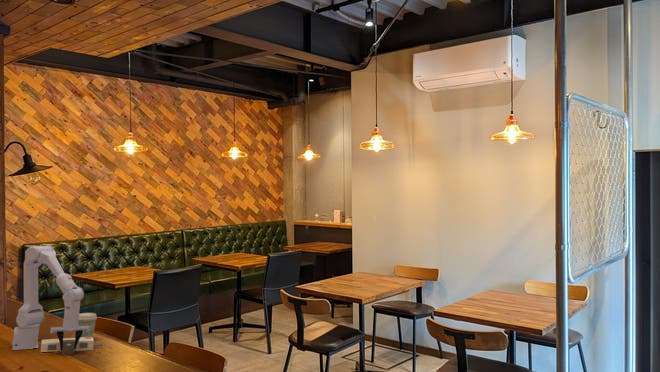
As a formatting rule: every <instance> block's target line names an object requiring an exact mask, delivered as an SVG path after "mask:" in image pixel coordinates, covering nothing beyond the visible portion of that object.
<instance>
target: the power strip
mask: <svg viewBox="0 0 660 372" xmlns="http://www.w3.org/2000/svg"><path fill="white" fill-rule="evenodd" d="M63 340H75V337H67V338H65V337H63ZM94 347H103V343H95V340H94V337H82V338H80V339H79V341H78V343H77V346H76V349H74V352H83V351H94ZM47 351H60V352H59V353H62V350H60V342H59V339H58V338H50V339H47V338H46V339H41V343H40V353H41V352H47Z"/></svg>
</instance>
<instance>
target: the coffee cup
mask: <svg viewBox="0 0 660 372" xmlns="http://www.w3.org/2000/svg"><path fill="white" fill-rule="evenodd" d="M97 319H98V316H97V313H95V312H83V313H79V320H78V326H89V331H83V334H82V336H81V337H80V338H82V337H93V336H94V331H95V326H96V321H97ZM93 338H94V337H93Z"/></svg>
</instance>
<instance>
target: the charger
mask: <svg viewBox="0 0 660 372" xmlns="http://www.w3.org/2000/svg"><path fill="white" fill-rule="evenodd" d="M74 346H75V340H63V349H62V352H61V354H62V353H63V354H64V355H74V354H75V351H74Z"/></svg>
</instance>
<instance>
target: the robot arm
mask: <svg viewBox="0 0 660 372" xmlns="http://www.w3.org/2000/svg"><path fill="white" fill-rule="evenodd" d="M56 255H57V252H56V251H55V249H54V247H53V246H52V245H38V246H37V245H32V246H29V247H28V248H27V249H26V250H25V251H24V261H23V305H22V306H21V307H20V308H19V309H18V310H17V311H18V312H17V316H16V320H15V321H16V324H17V326H16V327H14V331H13V340H11V341H12V342H11V346H12V347H11V348H12V351H20V350H21V351H22V350H34V349H33V348H37V349H39V341H38V340H39V333H40V331H39V330H40V326H41V325H42V324H41V323H43V322H44V320H45V313H44V309H43V308H44V306H43V305H41V304H40V303H39V267H40V266H41V265H42V264H44V265H46V266H47V267H48V268H49V270H50V271H51V272H52V273H53V275H54V276H55V278H56V279H55V283H56V284H57V286H58V287H59V289H60V291H61V292H62V294H63V295H62V300H63V305H64V311H63V312H64V313H63V322H62V326H53V327H50V334H54V333H56V336H57V339H59V342H60V350H62V349H63V339H64V336H65V335H64V333H73V332H74V333H75V334H74V335H75V336H74V338H75V346H74V349H76V346H77V343H78V341H79V339H80V337H81V336H82V334H83V331H89V326H78V320H79V314H80V311H81V310H80V307H81V301H82V300H83V299H84V297H85V292H84V289H83V288H82V287H79V286H78V285H77V284H76V283H75V282H74V280H73V278H72V275H70V274H68V273H65V271H64V270H63V268H62V266H61V264H60V262H59V261H58V258H57V256H56Z"/></svg>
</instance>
